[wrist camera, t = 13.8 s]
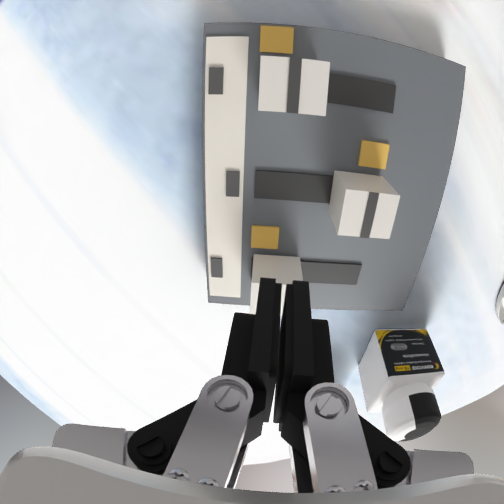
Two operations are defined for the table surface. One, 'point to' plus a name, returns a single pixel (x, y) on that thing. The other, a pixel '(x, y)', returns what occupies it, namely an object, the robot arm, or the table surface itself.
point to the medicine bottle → (402, 381)
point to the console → (322, 161)
